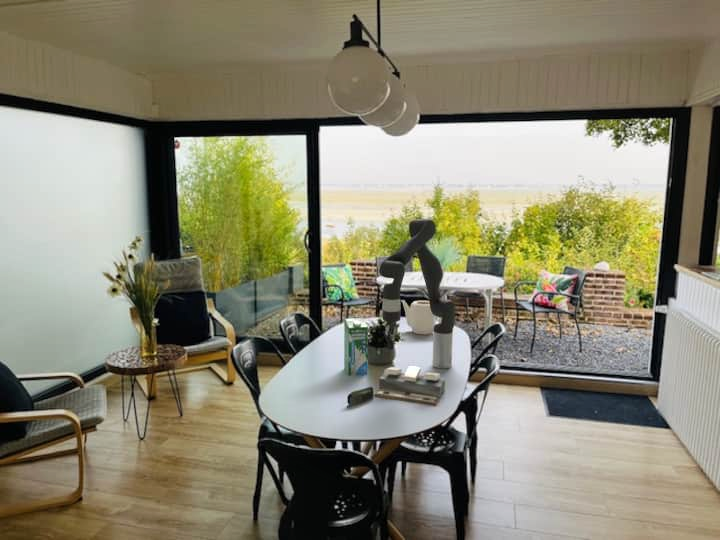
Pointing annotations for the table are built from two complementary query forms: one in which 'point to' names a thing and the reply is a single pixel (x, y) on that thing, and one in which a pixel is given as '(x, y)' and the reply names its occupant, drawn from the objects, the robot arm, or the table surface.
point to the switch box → (411, 389)
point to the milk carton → (355, 346)
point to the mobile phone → (360, 396)
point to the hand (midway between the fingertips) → (390, 349)
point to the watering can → (420, 317)
